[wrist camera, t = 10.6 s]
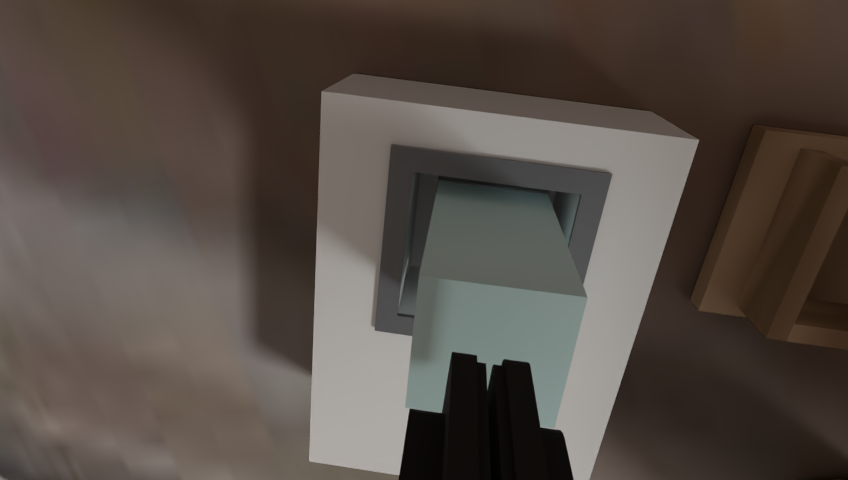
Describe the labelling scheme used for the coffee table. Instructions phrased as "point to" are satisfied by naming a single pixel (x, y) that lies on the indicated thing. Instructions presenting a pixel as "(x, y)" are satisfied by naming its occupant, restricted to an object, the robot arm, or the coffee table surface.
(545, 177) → the panel
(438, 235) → the plug
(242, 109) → the coffee table surface
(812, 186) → the square wooden tray
